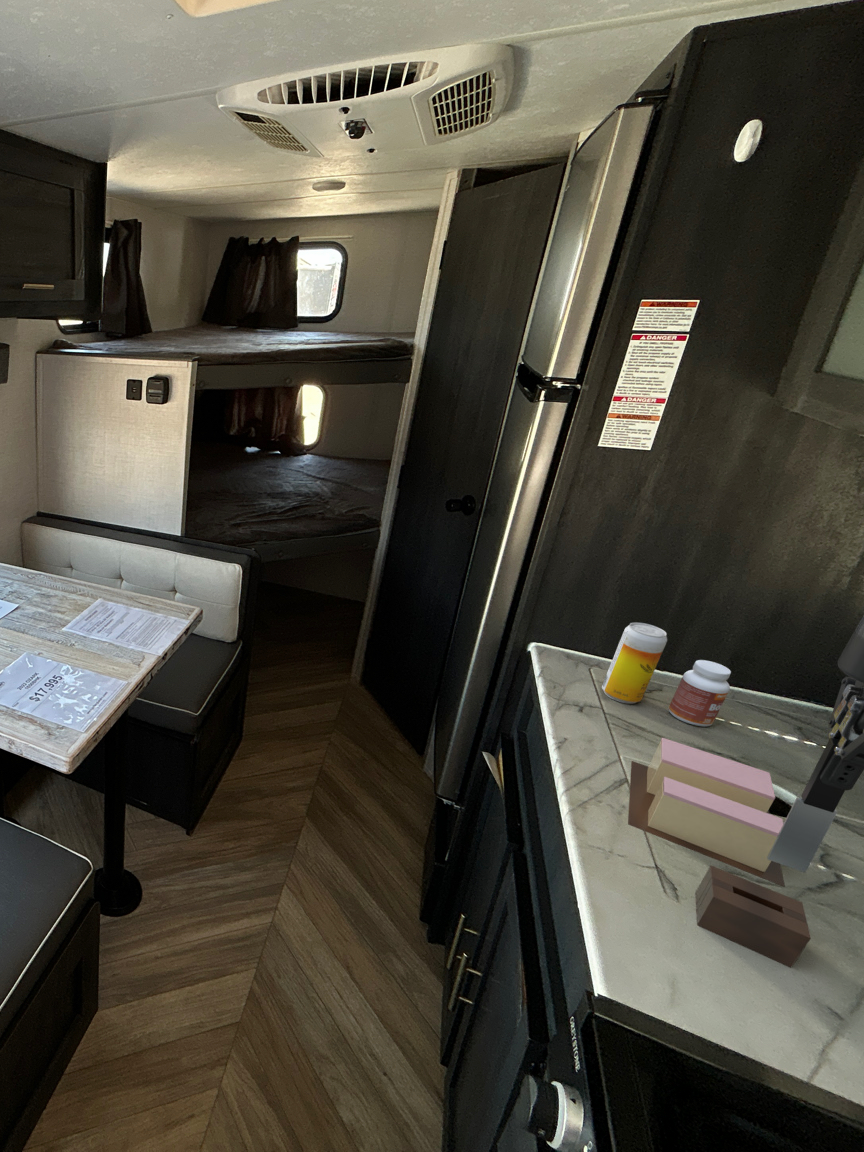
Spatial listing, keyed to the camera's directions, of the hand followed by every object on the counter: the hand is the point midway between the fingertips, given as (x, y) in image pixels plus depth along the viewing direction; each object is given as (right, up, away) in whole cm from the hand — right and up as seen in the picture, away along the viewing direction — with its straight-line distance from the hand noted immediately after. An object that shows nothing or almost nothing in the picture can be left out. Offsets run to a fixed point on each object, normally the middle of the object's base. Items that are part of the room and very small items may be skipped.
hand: (831, 778), depth 68 cm
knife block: (0, -23, +10) cm, 25 cm away
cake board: (+12, -16, +26) cm, 32 cm away
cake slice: (+8, -17, +21) cm, 28 cm away
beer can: (+26, -4, +55) cm, 61 cm away
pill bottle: (+33, -6, +49) cm, 59 cm away
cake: (+15, -14, +29) cm, 35 cm away
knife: (0, -12, +5) cm, 13 cm away
